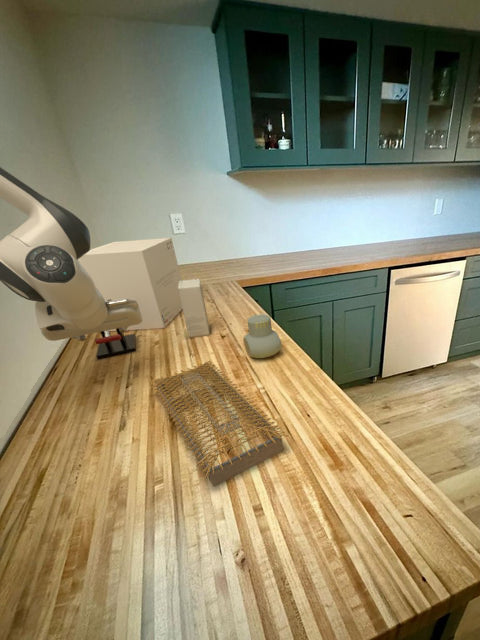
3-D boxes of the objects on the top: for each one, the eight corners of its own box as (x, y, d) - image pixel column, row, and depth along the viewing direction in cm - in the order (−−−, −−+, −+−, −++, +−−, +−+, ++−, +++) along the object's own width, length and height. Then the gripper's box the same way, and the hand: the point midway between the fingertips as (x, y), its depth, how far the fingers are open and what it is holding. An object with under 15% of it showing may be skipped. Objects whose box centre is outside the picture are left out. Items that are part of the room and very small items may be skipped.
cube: (164, 327, 112) (141, 250, 99) (102, 331, 113) (72, 255, 100) (187, 303, 133) (171, 237, 121) (135, 306, 134) (113, 241, 122)
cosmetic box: (190, 328, 110) (178, 280, 102) (210, 325, 111) (200, 277, 103) (189, 338, 103) (176, 287, 95) (211, 334, 104) (200, 284, 96)
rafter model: (153, 394, 76) (145, 370, 73) (213, 372, 83) (208, 350, 80) (210, 493, 50) (201, 463, 47) (290, 451, 57) (287, 422, 54)
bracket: (136, 351, 97) (119, 305, 90) (97, 359, 94) (77, 312, 87) (135, 336, 106) (121, 294, 99) (101, 344, 103) (83, 300, 96)
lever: (122, 341, 91) (119, 335, 89) (97, 346, 89) (94, 341, 87) (115, 306, 97) (113, 300, 95) (92, 310, 95) (89, 304, 93)
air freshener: (285, 357, 87) (281, 321, 82) (254, 365, 84) (248, 328, 79) (271, 342, 96) (267, 308, 91) (243, 349, 93) (237, 314, 88)
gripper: (132, 286, 75) (144, 314, 88) (25, 303, 69) (55, 331, 82) (138, 310, 74) (149, 336, 87) (30, 330, 68) (60, 355, 80)
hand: (103, 334), depth 84 cm, fingers open, 8 cm apart
